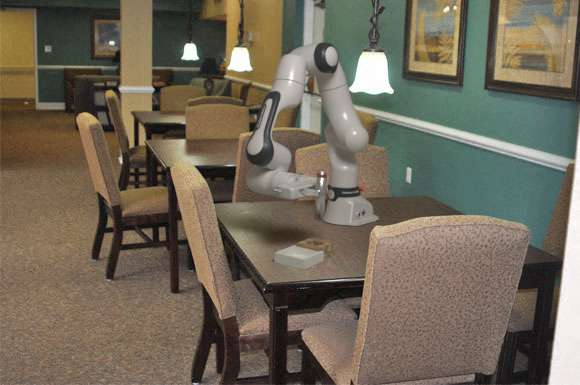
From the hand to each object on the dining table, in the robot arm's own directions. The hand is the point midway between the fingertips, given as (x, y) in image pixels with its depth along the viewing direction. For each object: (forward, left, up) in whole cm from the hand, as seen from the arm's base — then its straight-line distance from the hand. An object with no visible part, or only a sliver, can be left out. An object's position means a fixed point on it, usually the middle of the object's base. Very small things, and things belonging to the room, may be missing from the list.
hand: (323, 192), depth 210 cm
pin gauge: (0, -1, -9) cm, 9 cm away
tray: (+11, +3, -20) cm, 23 cm away
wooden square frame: (+3, 0, -20) cm, 21 cm away
